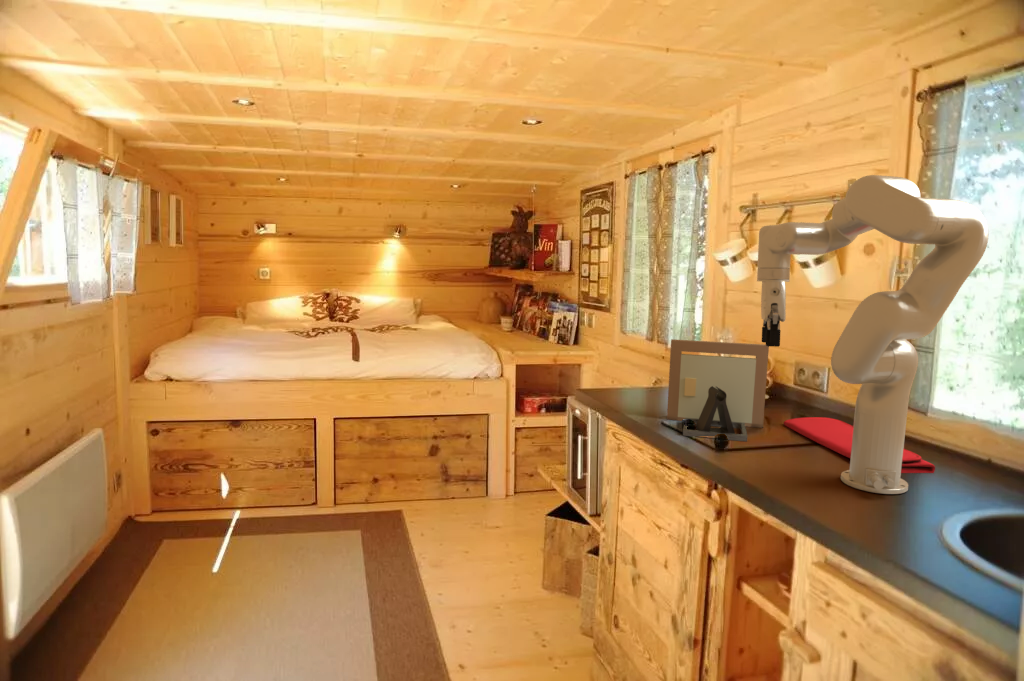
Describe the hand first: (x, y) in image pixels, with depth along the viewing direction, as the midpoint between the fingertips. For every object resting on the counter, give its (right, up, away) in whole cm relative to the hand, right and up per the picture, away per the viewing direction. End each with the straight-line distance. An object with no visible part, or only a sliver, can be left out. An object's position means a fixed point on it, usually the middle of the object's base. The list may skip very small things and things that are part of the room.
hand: (770, 344), depth 169 cm
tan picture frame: (-7, -22, +22) cm, 32 cm away
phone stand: (-10, -24, +12) cm, 29 cm away
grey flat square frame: (-10, -24, +13) cm, 29 cm away
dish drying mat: (+21, -27, +2) cm, 34 cm away
